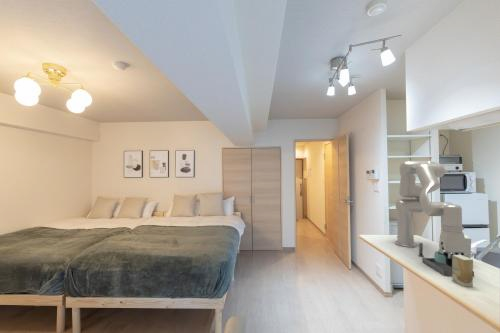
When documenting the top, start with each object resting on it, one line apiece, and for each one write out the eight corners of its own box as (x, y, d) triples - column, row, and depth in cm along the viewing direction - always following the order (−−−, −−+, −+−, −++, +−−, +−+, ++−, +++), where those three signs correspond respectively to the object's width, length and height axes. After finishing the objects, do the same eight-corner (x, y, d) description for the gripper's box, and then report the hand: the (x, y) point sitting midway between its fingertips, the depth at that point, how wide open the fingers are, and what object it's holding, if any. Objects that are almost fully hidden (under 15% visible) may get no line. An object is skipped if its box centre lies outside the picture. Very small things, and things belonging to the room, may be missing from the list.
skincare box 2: (451, 280, 116) (451, 254, 116) (460, 280, 117) (460, 254, 117) (464, 287, 110) (464, 259, 110) (473, 286, 110) (473, 259, 110)
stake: (417, 255, 149) (417, 242, 149) (421, 255, 149) (421, 242, 149) (420, 257, 147) (419, 243, 147) (424, 257, 147) (424, 243, 147)
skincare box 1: (451, 260, 142) (451, 232, 142) (466, 261, 139) (466, 234, 139) (456, 265, 134) (455, 236, 134) (472, 267, 131) (471, 237, 131)
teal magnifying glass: (431, 258, 135) (431, 248, 135) (447, 258, 134) (447, 248, 134) (447, 267, 123) (447, 256, 123) (465, 268, 122) (465, 256, 122)
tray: (422, 262, 139) (422, 257, 139) (448, 262, 137) (448, 258, 138) (444, 275, 121) (444, 270, 121) (474, 276, 120) (473, 271, 120)
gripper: (463, 227, 128) (464, 263, 128) (430, 227, 129) (431, 262, 129) (475, 231, 120) (476, 269, 120) (440, 230, 122) (440, 268, 121)
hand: (453, 265), depth 125 cm, fingers closed on teal magnifying glass, 3 cm apart
